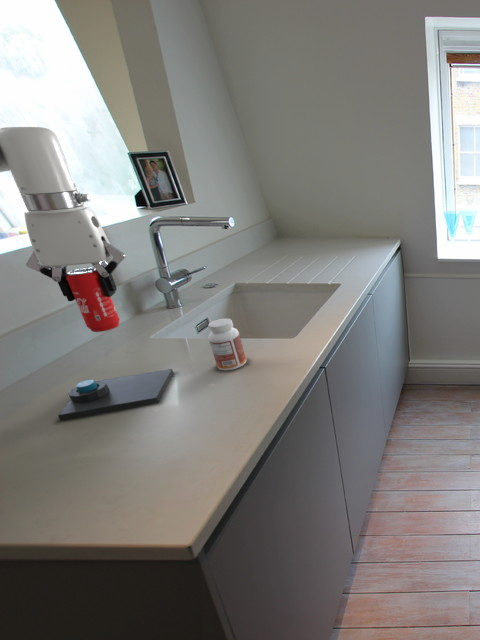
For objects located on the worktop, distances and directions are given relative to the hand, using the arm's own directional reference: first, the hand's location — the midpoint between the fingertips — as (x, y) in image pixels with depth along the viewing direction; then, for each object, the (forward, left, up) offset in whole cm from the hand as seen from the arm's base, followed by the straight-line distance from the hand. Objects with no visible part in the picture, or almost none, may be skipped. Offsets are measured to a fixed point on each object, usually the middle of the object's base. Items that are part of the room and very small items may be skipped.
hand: (92, 296), depth 87 cm
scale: (-1, -3, -21) cm, 22 cm away
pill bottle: (+19, +3, -22) cm, 29 cm away
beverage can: (0, 0, -7) cm, 7 cm away
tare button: (-6, -3, -19) cm, 20 cm away
